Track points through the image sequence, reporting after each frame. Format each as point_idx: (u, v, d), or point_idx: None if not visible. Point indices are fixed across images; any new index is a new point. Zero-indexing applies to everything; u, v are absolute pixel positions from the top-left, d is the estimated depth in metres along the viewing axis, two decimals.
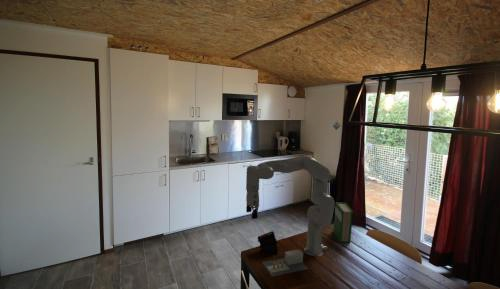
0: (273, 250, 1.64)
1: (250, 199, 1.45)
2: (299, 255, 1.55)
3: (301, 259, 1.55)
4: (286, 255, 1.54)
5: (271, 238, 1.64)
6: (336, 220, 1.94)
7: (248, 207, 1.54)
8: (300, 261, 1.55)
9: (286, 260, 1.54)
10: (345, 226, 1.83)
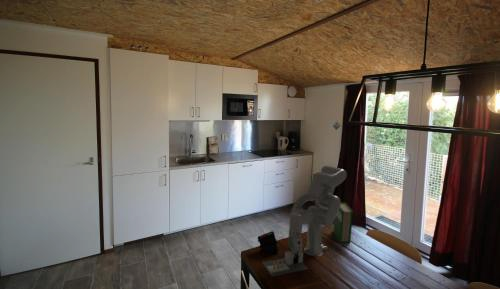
0: (273, 250, 1.64)
1: (294, 245, 1.51)
2: None
3: (301, 259, 1.55)
4: (286, 255, 1.54)
5: (271, 238, 1.64)
6: (336, 220, 1.94)
7: None
8: (300, 261, 1.55)
9: (286, 260, 1.54)
10: (345, 226, 1.83)
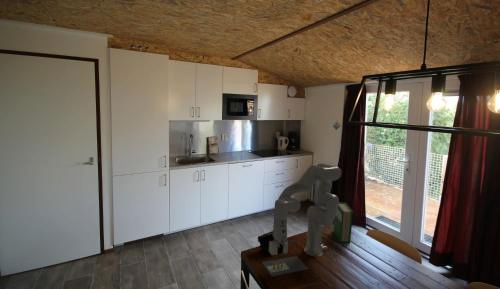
0: None
1: (278, 234, 1.43)
2: None
3: (286, 249, 1.47)
4: (270, 245, 1.46)
5: (271, 238, 1.64)
6: (336, 220, 1.94)
7: None
8: (285, 251, 1.47)
9: (270, 250, 1.46)
10: (345, 226, 1.83)
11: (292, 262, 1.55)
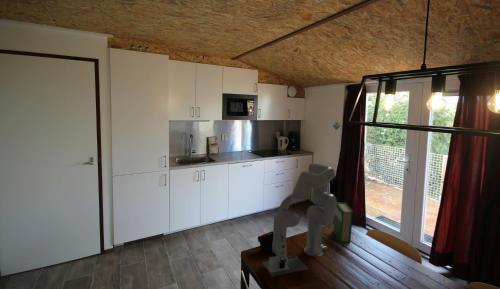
0: None
1: (278, 249, 1.44)
2: None
3: (286, 265, 1.49)
4: (270, 261, 1.47)
5: (271, 238, 1.64)
6: (336, 220, 1.94)
7: (274, 254, 1.53)
8: (285, 267, 1.49)
9: (270, 266, 1.48)
10: (345, 226, 1.83)
11: (292, 262, 1.55)
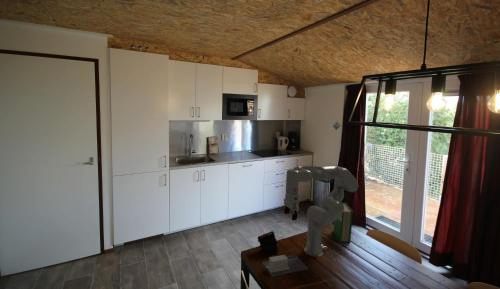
0: (273, 250, 1.64)
1: (290, 201, 1.52)
2: (284, 261, 1.48)
3: (286, 265, 1.49)
4: (270, 261, 1.47)
5: (271, 238, 1.64)
6: (336, 220, 1.94)
7: (286, 209, 1.61)
8: (285, 267, 1.49)
9: (270, 266, 1.48)
10: (345, 226, 1.83)
11: (292, 262, 1.55)
